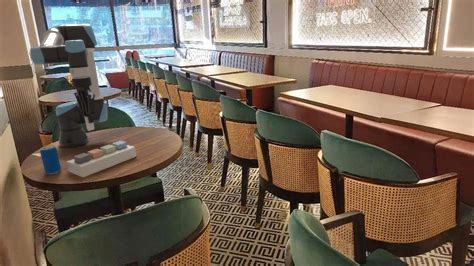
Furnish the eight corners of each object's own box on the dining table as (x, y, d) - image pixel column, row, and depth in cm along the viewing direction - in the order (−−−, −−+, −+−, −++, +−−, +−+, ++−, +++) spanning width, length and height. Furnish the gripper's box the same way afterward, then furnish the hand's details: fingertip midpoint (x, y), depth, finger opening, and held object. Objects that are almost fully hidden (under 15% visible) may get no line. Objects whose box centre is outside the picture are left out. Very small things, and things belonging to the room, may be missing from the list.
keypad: (68, 171, 150) (66, 161, 148) (121, 152, 171) (120, 143, 170) (83, 177, 143) (80, 166, 141) (136, 156, 164) (134, 146, 163)
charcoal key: (75, 162, 148) (73, 156, 147) (85, 159, 151) (83, 152, 150) (80, 164, 145) (79, 158, 144) (90, 161, 149) (89, 154, 148)
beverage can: (49, 169, 153) (43, 145, 149) (63, 168, 154) (58, 144, 150) (42, 175, 147) (36, 150, 143) (57, 174, 147) (52, 149, 144)
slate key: (113, 149, 163) (112, 143, 162) (121, 146, 166) (120, 140, 165) (119, 150, 160) (118, 145, 159) (127, 147, 163) (126, 142, 162)
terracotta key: (88, 157, 153) (87, 151, 152) (98, 154, 156) (96, 148, 155) (94, 159, 150) (93, 153, 149) (103, 156, 154) (102, 150, 153)
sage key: (101, 153, 158) (100, 147, 157) (110, 150, 161) (109, 144, 160) (107, 155, 155) (106, 149, 154) (116, 152, 158) (114, 146, 158)
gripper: (64, 77, 143) (75, 129, 150) (80, 79, 135) (91, 134, 142) (81, 75, 149) (90, 125, 156) (97, 76, 141) (106, 129, 148)
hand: (90, 129), depth 149 cm, fingers closed
